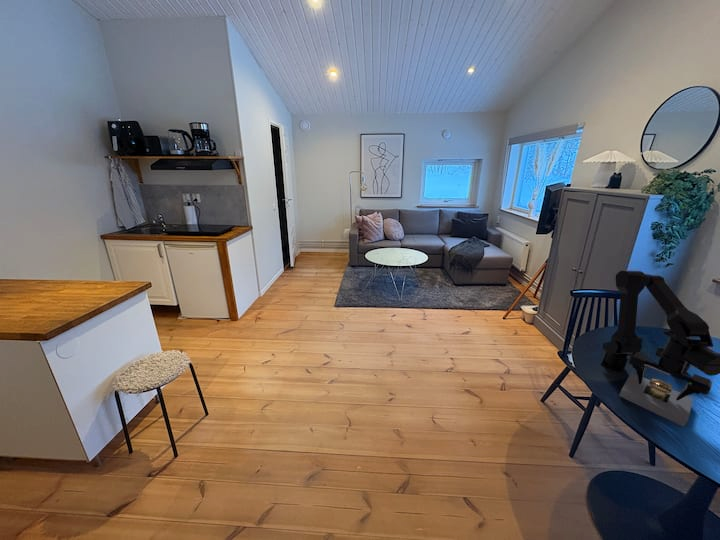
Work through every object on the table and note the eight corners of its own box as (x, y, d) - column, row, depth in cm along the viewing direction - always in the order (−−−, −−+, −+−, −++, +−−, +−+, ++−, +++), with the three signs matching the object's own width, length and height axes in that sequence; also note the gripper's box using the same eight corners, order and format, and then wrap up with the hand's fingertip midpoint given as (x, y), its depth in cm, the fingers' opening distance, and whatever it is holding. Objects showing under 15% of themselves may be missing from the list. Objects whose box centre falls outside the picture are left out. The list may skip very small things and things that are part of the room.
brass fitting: (641, 399, 101) (649, 383, 98) (644, 392, 104) (652, 376, 101) (663, 409, 97) (671, 392, 94) (665, 401, 100) (673, 385, 97)
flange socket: (618, 395, 102) (621, 389, 101) (628, 378, 110) (631, 372, 109) (684, 426, 90) (688, 419, 89) (689, 404, 99) (693, 398, 97)
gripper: (722, 358, 91) (700, 396, 97) (643, 332, 105) (628, 367, 110) (720, 373, 85) (697, 413, 90) (636, 343, 98) (620, 379, 104)
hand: (657, 391), depth 99 cm, fingers open, 9 cm apart
